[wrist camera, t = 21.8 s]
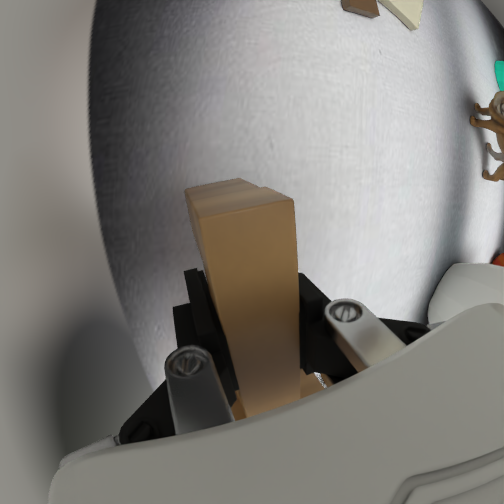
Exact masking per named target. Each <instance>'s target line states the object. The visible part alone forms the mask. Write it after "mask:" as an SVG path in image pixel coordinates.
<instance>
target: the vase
mask: <svg viewBox="0 0 504 504" xmlns="http://www.w3.org/2000/svg"><path fill="white" fill-rule="evenodd" d="M486 303H500V304H503V305H504V267H502V266H497V265H493V264H488V263H469V264H468V263H456V264H453V265H452V266H451V267H450V268H449V269H448V270H447V271H446V273H445V274H444V276H443V278H442V279H441V281H440V283H439V284H438V286H437V288H436V290H435V292H434V295H433V297H432V299H431V301H430V303H429V308H428V320H429V324H432V323H438V322H443V321H447V320H449V319H450V318H452V317H454V316H455V315H457V314H459V313H461V312H463V311H465V310H467V309H469V308H472V307H474V306H477V305H481V304H486Z"/></svg>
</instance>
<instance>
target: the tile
mask: <svg viewBox="0 0 504 504" xmlns="http://www.w3.org/2000/svg"><path fill="white" fill-rule="evenodd" d="M378 1H379V2H381V3H382V4H383V5H384V6H385V7H386V8H388V9H389V10H390V11H391V12H392V13H393V14H394V15H395V16H397V17H398V18H399V19H400V20H401V21H402V22H403V23H404V24H405V25H406V26H407V27H408V28H409V29H410V30H416V29H418V28H419V23H420V18H421V13H422V7H423V1H424V0H378Z"/></svg>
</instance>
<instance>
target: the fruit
mask: <svg viewBox="0 0 504 504" xmlns="http://www.w3.org/2000/svg"><path fill="white" fill-rule="evenodd" d="M492 264H493V265H497V266H502V267H504V253H502V254H500V255H499V256H498V257H496V258H495V259H494V260H493V262H492Z"/></svg>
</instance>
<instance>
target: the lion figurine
mask: <svg viewBox="0 0 504 504" xmlns="http://www.w3.org/2000/svg"><path fill="white" fill-rule="evenodd" d="M474 107H475V110H476V112H477V113H480V114H482V115H487V116H491V119H490V120H480V119H476V118H475V117H474V116H471V117H470V123H471V125H473V126H474V127H483V128H486V129H489V130H491V131H493V132H495V133H496V136H497V142H498V145H499V147H500V149H501V151H502V153H496V152H494V151H493V150H492V148H491V144H490V143H487V151H488V152H489V153H490V154H491V155H492V157H493V158H494V159H495V160H500V161H502V162H504V91H500V92H497V93H496V94H495V96H494V98H493V99H492V100H491V103H490V104H489V108H481V107H480V105H479V104H478V103H475V105H474ZM483 177H484V179H486V180H490V181H498V180H499V179H500V180H504V163H503V164H501V165H500V166H499V167H498V168H497V170H496V171H495V173H494V174H493V175H489V173H488V171H487V170H484V172H483Z"/></svg>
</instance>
